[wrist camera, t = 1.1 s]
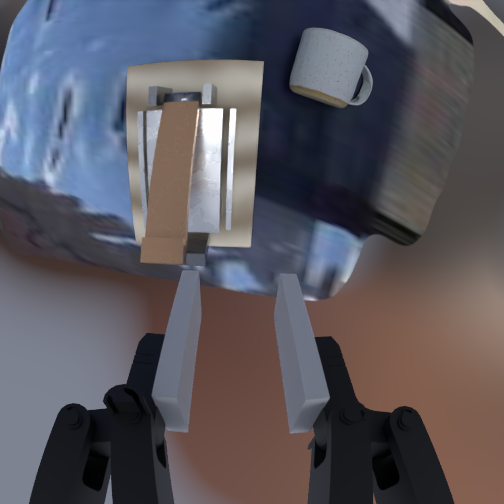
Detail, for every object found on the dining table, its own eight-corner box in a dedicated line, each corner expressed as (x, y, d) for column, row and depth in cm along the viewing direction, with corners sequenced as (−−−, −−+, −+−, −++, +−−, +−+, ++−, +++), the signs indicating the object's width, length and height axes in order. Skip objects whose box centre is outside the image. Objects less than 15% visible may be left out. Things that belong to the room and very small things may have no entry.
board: (133, 67, 27) (127, 66, 25) (262, 63, 28) (263, 61, 26) (140, 237, 39) (136, 243, 37) (250, 240, 40) (250, 247, 38)
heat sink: (147, 90, 27) (126, 89, 21) (237, 88, 27) (237, 84, 22) (153, 239, 37) (140, 265, 31) (230, 242, 37) (229, 269, 32)
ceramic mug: (281, 91, 30) (293, 89, 23) (297, 35, 26) (313, 19, 19) (358, 118, 31) (386, 124, 25) (373, 64, 27) (404, 60, 21)
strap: (168, 98, 25) (164, 87, 23) (201, 97, 25) (200, 85, 23) (148, 263, 23) (140, 262, 21) (186, 264, 23) (182, 263, 21)
